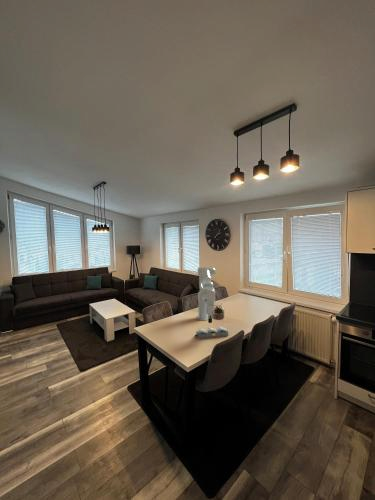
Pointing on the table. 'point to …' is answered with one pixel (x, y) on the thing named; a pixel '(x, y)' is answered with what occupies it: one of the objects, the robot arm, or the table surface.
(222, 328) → the rocker
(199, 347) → the table surface
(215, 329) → the rocker
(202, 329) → the rocker
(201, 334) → the power strip
